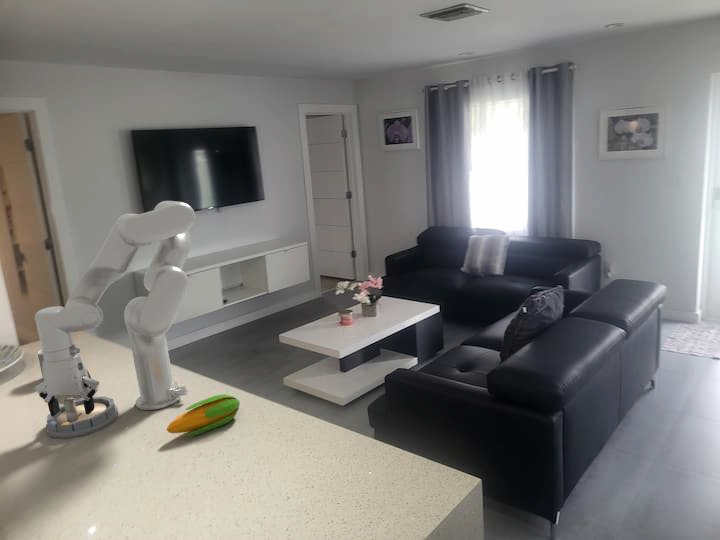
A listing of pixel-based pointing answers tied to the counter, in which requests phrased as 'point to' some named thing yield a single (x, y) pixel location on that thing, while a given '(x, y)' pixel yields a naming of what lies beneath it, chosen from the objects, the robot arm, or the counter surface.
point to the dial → (78, 411)
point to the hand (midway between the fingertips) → (73, 413)
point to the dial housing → (83, 426)
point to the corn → (206, 415)
